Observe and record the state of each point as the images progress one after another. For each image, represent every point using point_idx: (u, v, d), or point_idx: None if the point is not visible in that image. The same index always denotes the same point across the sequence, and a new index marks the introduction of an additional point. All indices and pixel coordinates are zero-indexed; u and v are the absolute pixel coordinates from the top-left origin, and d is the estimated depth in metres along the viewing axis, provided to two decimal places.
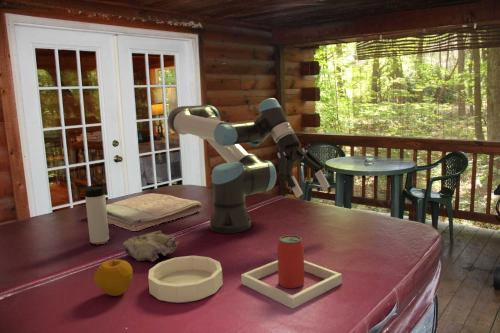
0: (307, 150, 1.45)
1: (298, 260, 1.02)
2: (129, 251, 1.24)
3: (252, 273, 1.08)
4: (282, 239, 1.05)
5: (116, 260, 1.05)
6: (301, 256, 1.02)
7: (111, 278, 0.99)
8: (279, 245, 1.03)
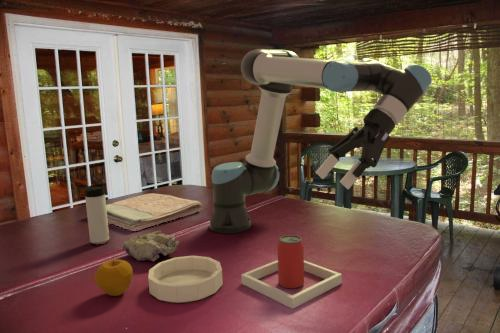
0: None
1: (298, 260, 1.02)
2: (129, 251, 1.24)
3: (252, 273, 1.08)
4: (282, 239, 1.05)
5: (116, 260, 1.05)
6: (301, 256, 1.02)
7: (111, 278, 0.99)
8: (279, 245, 1.03)
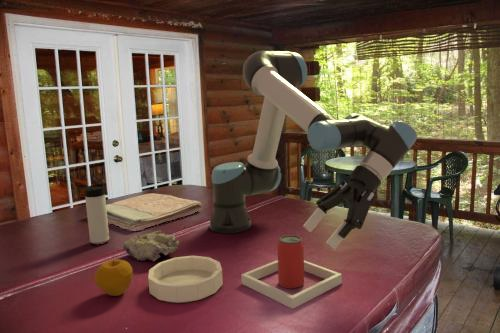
0: None
1: (298, 259, 1.02)
2: (130, 251, 1.24)
3: (252, 273, 1.08)
4: (282, 239, 1.05)
5: (116, 260, 1.05)
6: (301, 256, 1.02)
7: (111, 278, 0.99)
8: (279, 245, 1.03)
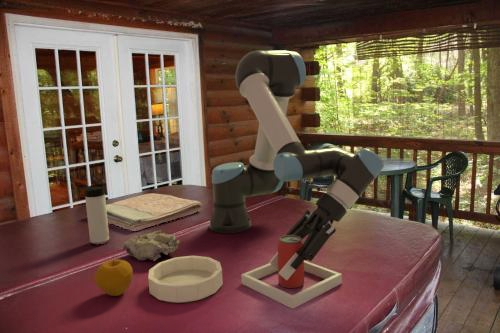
0: None
1: None
2: (130, 251, 1.24)
3: (252, 273, 1.08)
4: (282, 239, 1.05)
5: (116, 260, 1.05)
6: None
7: (111, 278, 0.99)
8: (279, 245, 1.03)
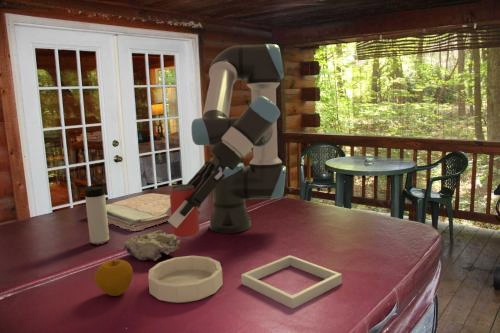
0: None
1: None
2: (131, 251, 1.24)
3: (252, 273, 1.08)
4: (175, 188, 1.02)
5: (116, 260, 1.05)
6: None
7: (111, 278, 0.99)
8: (171, 193, 1.01)
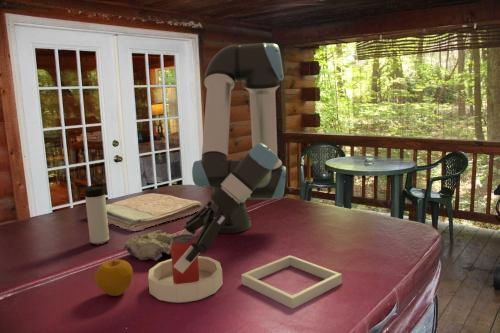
0: None
1: None
2: (131, 251, 1.24)
3: (252, 273, 1.08)
4: (176, 238, 1.05)
5: (116, 260, 1.05)
6: None
7: (111, 278, 0.99)
8: (171, 244, 1.04)
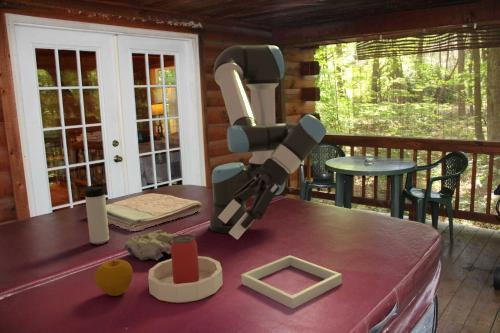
0: None
1: (188, 258, 1.02)
2: (132, 251, 1.25)
3: (252, 273, 1.08)
4: (176, 238, 1.05)
5: (116, 260, 1.05)
6: (193, 255, 1.03)
7: (111, 278, 0.99)
8: (171, 244, 1.04)
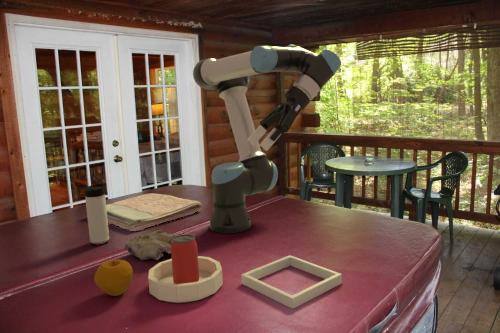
0: None
1: (188, 258, 1.02)
2: (132, 250, 1.25)
3: (252, 273, 1.08)
4: (176, 238, 1.05)
5: (116, 260, 1.05)
6: (193, 255, 1.03)
7: (111, 278, 0.99)
8: (171, 244, 1.04)
